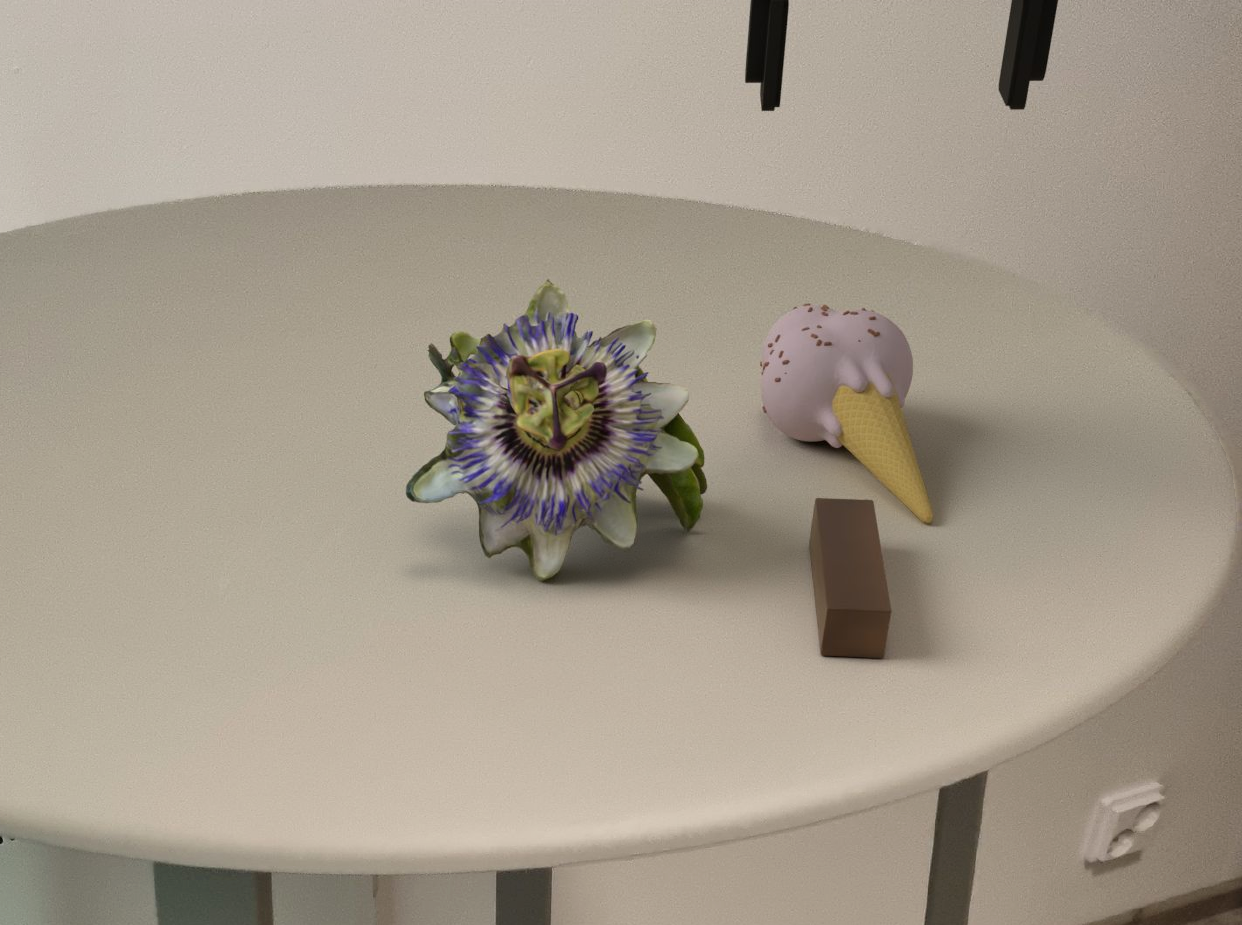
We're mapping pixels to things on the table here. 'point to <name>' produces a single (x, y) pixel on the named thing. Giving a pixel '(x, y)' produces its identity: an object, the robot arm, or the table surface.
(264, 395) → the table surface
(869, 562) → the rectangular block
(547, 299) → the passion flower
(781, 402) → the ice cream cone
